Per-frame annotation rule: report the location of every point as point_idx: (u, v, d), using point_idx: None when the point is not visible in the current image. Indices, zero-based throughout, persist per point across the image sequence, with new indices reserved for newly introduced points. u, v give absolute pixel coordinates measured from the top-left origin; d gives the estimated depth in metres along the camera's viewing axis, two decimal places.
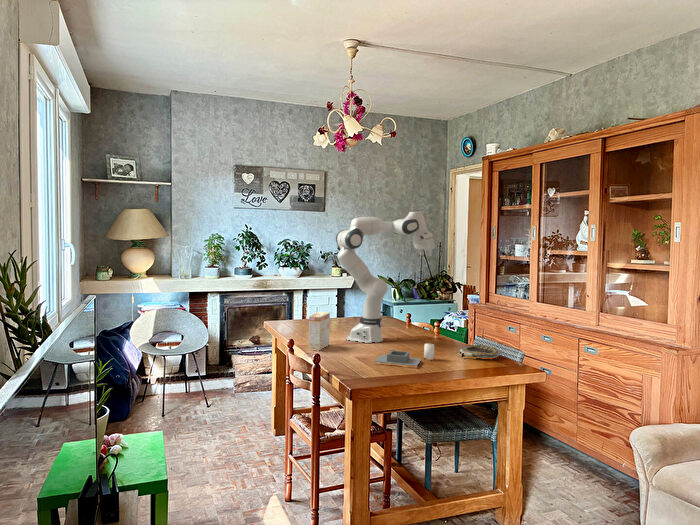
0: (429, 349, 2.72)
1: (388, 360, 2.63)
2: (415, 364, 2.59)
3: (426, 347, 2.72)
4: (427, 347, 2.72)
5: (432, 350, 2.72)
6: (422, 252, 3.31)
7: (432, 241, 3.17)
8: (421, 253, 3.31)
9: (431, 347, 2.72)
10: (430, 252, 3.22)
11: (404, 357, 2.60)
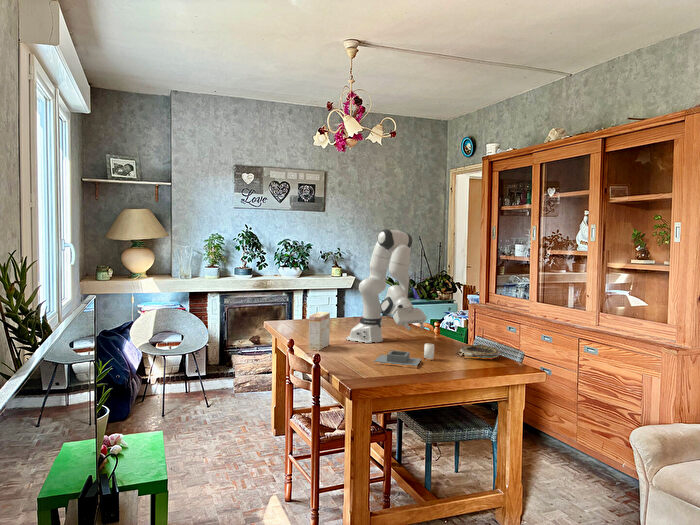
0: (429, 349, 2.72)
1: (388, 360, 2.63)
2: (415, 364, 2.59)
3: (426, 347, 2.72)
4: (427, 347, 2.72)
5: (432, 350, 2.72)
6: (421, 325, 2.86)
7: (396, 315, 2.81)
8: (420, 327, 2.86)
9: (431, 347, 2.72)
10: (406, 326, 2.80)
11: (404, 357, 2.60)
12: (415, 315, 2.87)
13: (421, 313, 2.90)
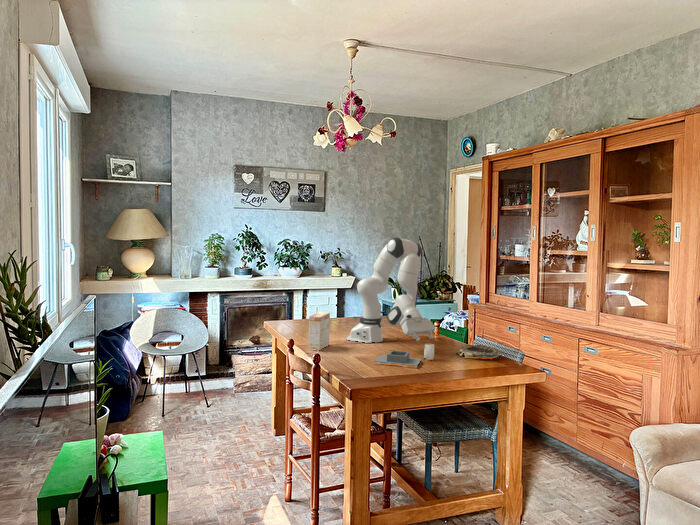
0: (429, 349, 2.72)
1: (388, 360, 2.63)
2: (415, 364, 2.59)
3: (426, 347, 2.72)
4: (427, 347, 2.72)
5: (432, 350, 2.72)
6: (429, 336, 2.80)
7: (404, 325, 2.76)
8: None
9: (431, 347, 2.72)
10: (414, 336, 2.75)
11: (404, 357, 2.60)
12: (424, 325, 2.81)
13: (430, 323, 2.85)
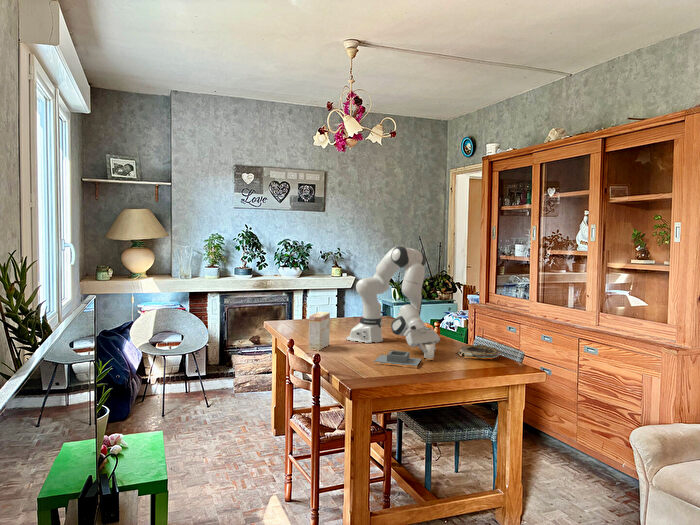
0: (429, 349, 2.72)
1: (388, 360, 2.63)
2: (415, 364, 2.59)
3: (426, 347, 2.72)
4: (427, 347, 2.72)
5: (432, 350, 2.72)
6: None
7: (409, 336, 2.73)
8: None
9: (431, 347, 2.72)
10: (421, 348, 2.73)
11: (404, 357, 2.60)
12: (428, 336, 2.78)
13: (434, 334, 2.82)
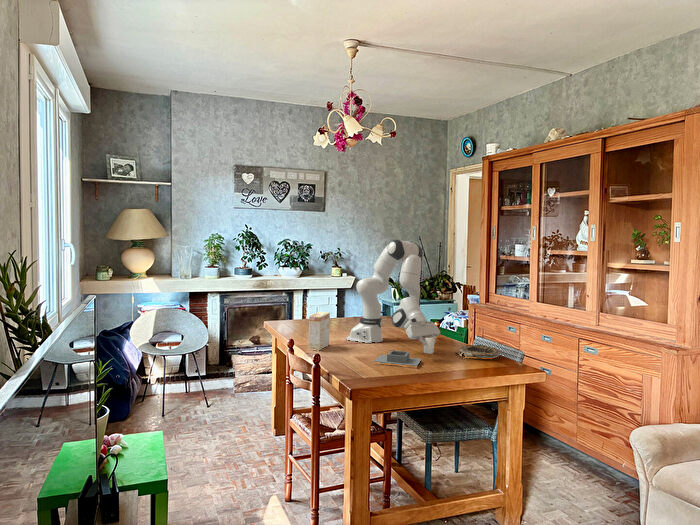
0: (429, 342, 2.71)
1: (388, 360, 2.63)
2: (415, 364, 2.59)
3: (426, 340, 2.72)
4: (427, 340, 2.71)
5: (432, 343, 2.72)
6: None
7: (409, 329, 2.72)
8: None
9: (431, 340, 2.71)
10: (421, 340, 2.72)
11: (404, 357, 2.60)
12: (428, 329, 2.78)
13: (435, 327, 2.81)
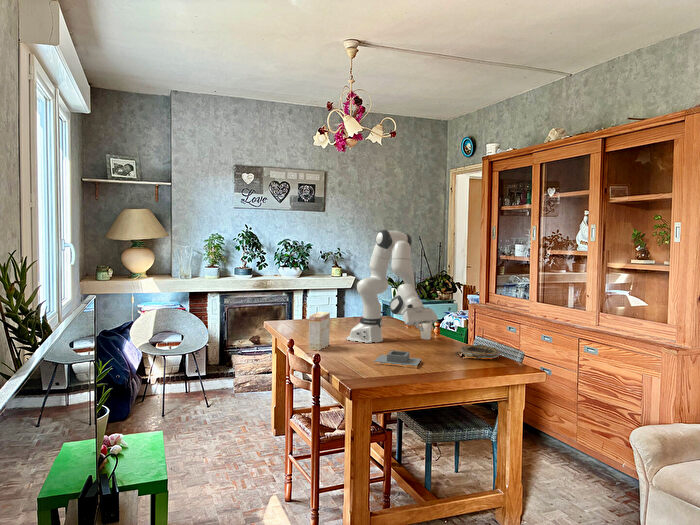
0: (426, 327, 2.69)
1: (388, 360, 2.63)
2: (415, 364, 2.59)
3: (423, 325, 2.70)
4: (424, 325, 2.70)
5: (429, 329, 2.70)
6: None
7: (405, 315, 2.71)
8: None
9: (428, 325, 2.69)
10: (417, 326, 2.71)
11: (404, 357, 2.60)
12: (426, 315, 2.76)
13: (432, 313, 2.79)
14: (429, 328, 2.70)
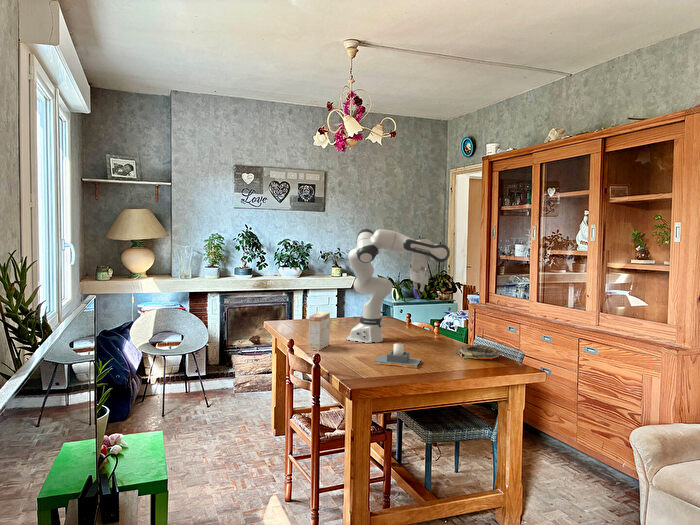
0: (396, 349, 2.64)
1: (388, 360, 2.63)
2: (415, 364, 2.59)
3: (394, 347, 2.65)
4: (395, 347, 2.64)
5: (400, 350, 2.63)
6: None
7: None
8: None
9: (398, 347, 2.63)
10: None
11: (404, 357, 2.60)
12: (417, 277, 2.91)
13: (421, 276, 2.86)
14: (400, 350, 2.64)
